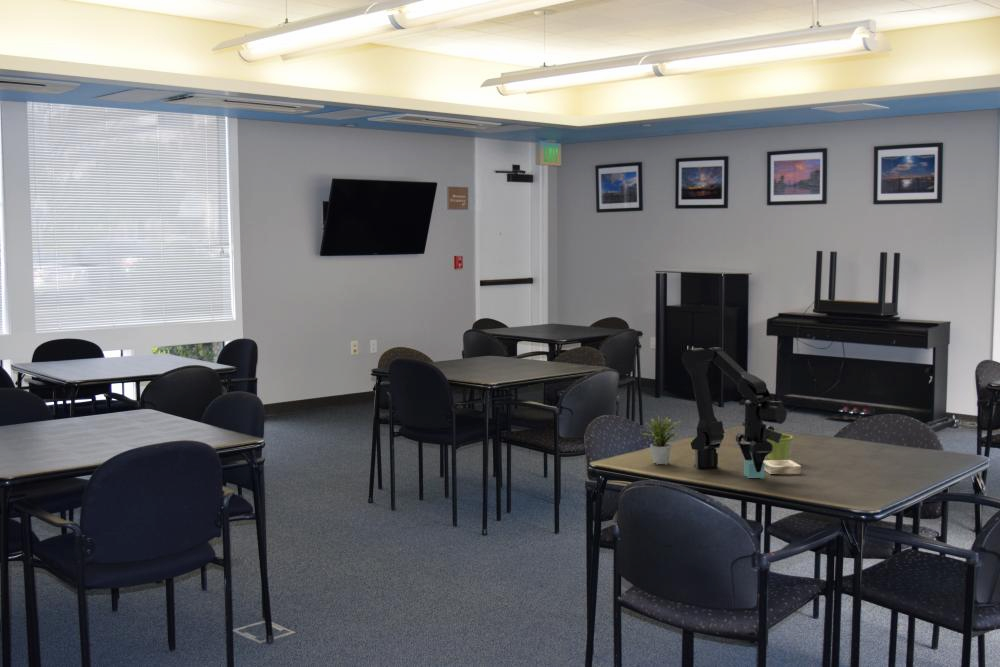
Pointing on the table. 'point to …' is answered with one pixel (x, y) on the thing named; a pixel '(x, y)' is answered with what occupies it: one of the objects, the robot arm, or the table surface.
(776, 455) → the plant pot
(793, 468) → the cream square tray
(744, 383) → the robot arm
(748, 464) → the teal cube
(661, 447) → the house plant
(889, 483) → the table surface
